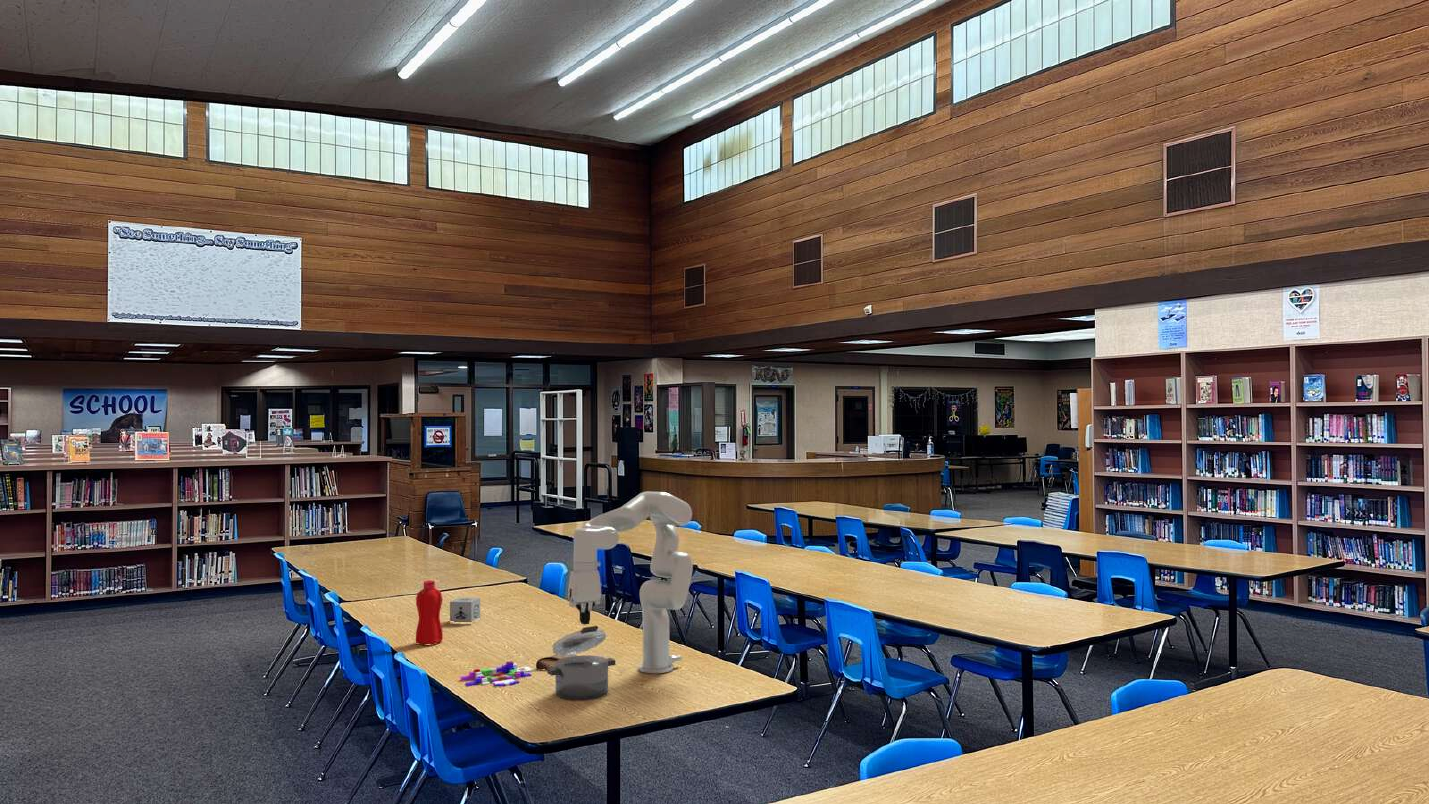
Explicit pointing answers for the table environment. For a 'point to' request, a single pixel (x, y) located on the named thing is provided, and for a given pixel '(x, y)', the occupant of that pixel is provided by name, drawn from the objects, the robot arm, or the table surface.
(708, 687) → the table surface
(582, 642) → the lid
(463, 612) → the icon cube
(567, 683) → the pot
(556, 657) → the sunglasses case
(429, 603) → the water bottle
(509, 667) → the building block set
